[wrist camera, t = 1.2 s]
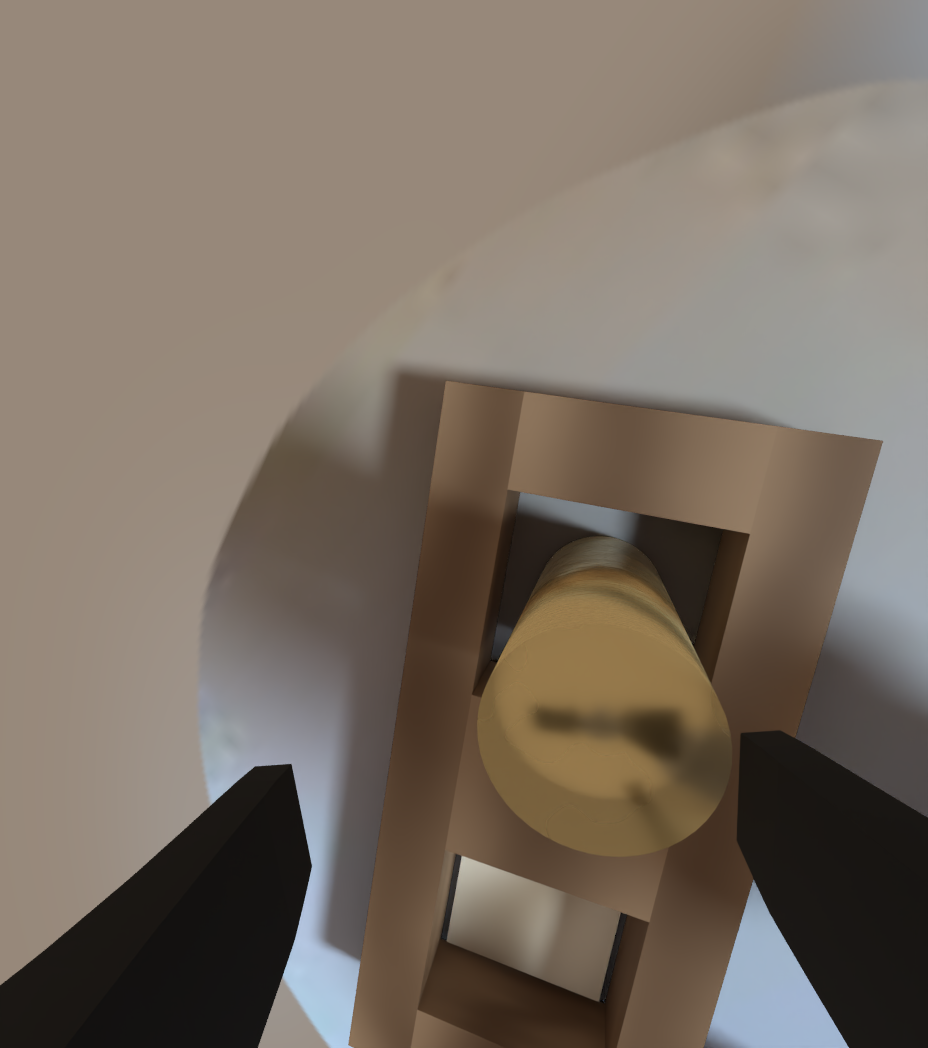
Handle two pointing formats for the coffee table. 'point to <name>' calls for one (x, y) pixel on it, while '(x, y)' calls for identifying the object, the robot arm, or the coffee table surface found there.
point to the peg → (604, 709)
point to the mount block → (464, 785)
